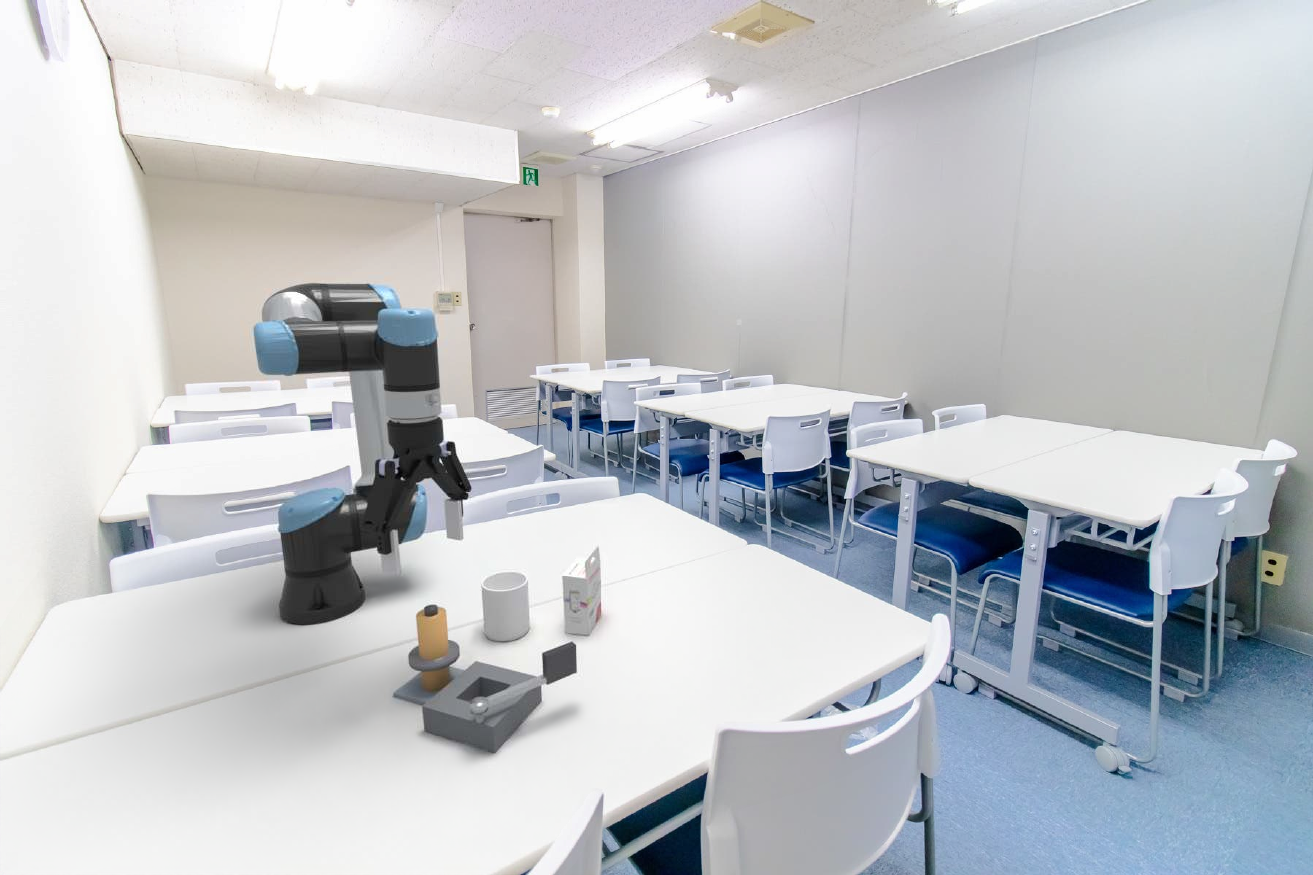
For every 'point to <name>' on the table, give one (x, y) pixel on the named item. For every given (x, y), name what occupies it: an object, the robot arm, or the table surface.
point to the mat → (420, 688)
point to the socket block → (486, 730)
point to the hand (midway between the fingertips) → (425, 554)
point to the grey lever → (554, 668)
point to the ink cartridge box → (582, 594)
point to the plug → (433, 649)
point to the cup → (505, 606)
